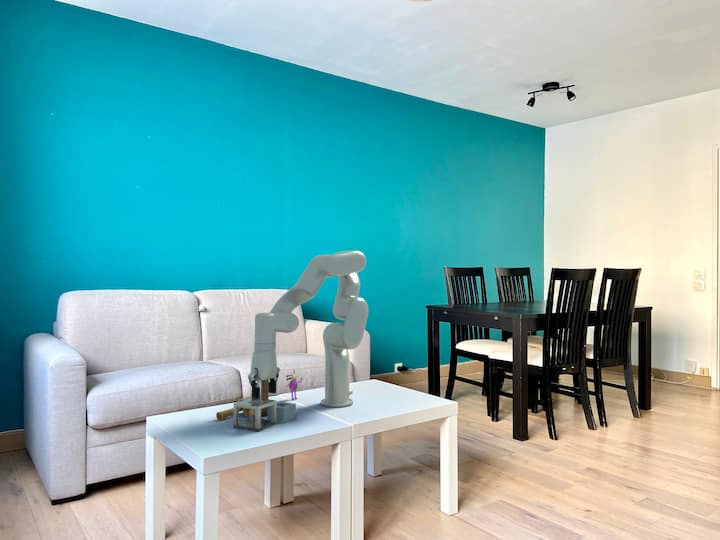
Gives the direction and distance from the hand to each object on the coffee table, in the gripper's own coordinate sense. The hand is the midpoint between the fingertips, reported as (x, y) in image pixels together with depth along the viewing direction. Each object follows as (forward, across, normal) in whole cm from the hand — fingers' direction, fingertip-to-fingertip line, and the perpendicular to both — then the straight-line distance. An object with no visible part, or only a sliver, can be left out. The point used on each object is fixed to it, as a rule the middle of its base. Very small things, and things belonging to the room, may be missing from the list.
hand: (264, 395), depth 190 cm
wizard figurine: (+7, -26, -5) cm, 28 cm away
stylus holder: (+7, +1, +8) cm, 11 cm away
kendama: (+8, +4, -8) cm, 11 cm away
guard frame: (+7, +12, +5) cm, 15 cm away
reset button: (+4, +12, +5) cm, 13 cm away
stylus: (+7, 0, 0) cm, 7 cm away
